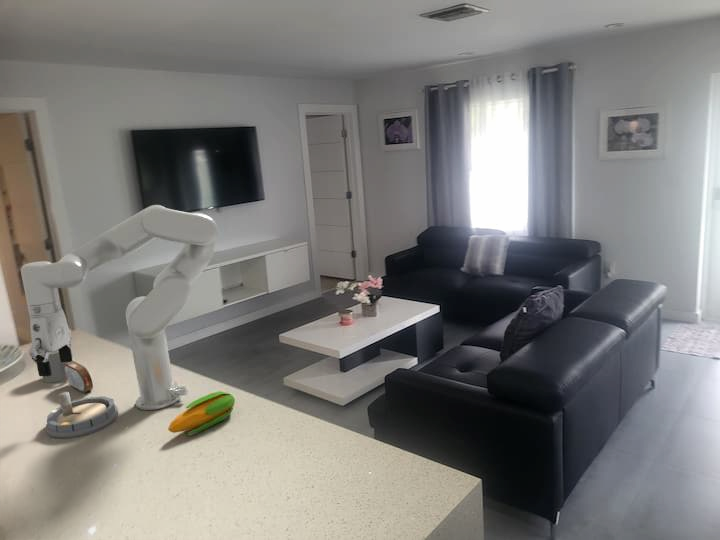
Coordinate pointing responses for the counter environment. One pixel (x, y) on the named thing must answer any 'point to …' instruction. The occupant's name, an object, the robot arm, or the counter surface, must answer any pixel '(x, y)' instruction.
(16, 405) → the counter surface
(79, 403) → the dial housing
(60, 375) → the coffee mug
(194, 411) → the corn
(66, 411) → the dial
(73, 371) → the tin
